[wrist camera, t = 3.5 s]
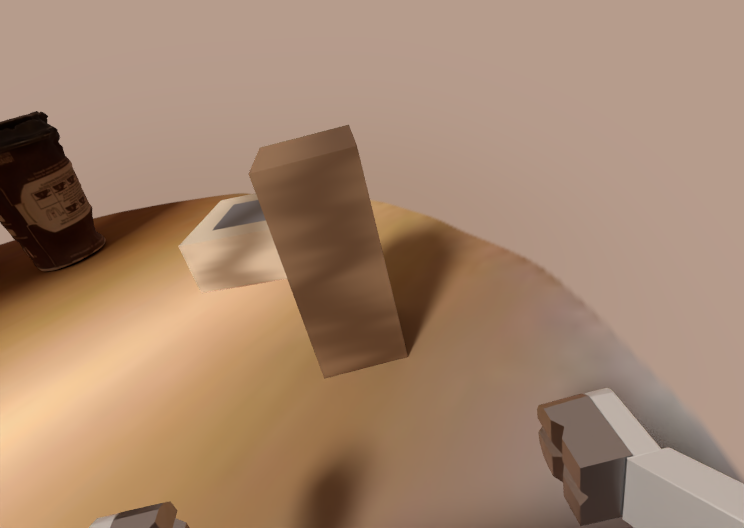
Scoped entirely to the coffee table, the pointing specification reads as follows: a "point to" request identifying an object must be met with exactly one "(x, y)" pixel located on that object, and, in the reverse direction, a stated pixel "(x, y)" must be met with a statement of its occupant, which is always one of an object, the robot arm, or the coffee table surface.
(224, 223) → the birch plinth
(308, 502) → the coffee table surface
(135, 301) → the coffee table surface
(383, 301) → the walnut pillar
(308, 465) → the coffee table surface
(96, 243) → the coffee cup
